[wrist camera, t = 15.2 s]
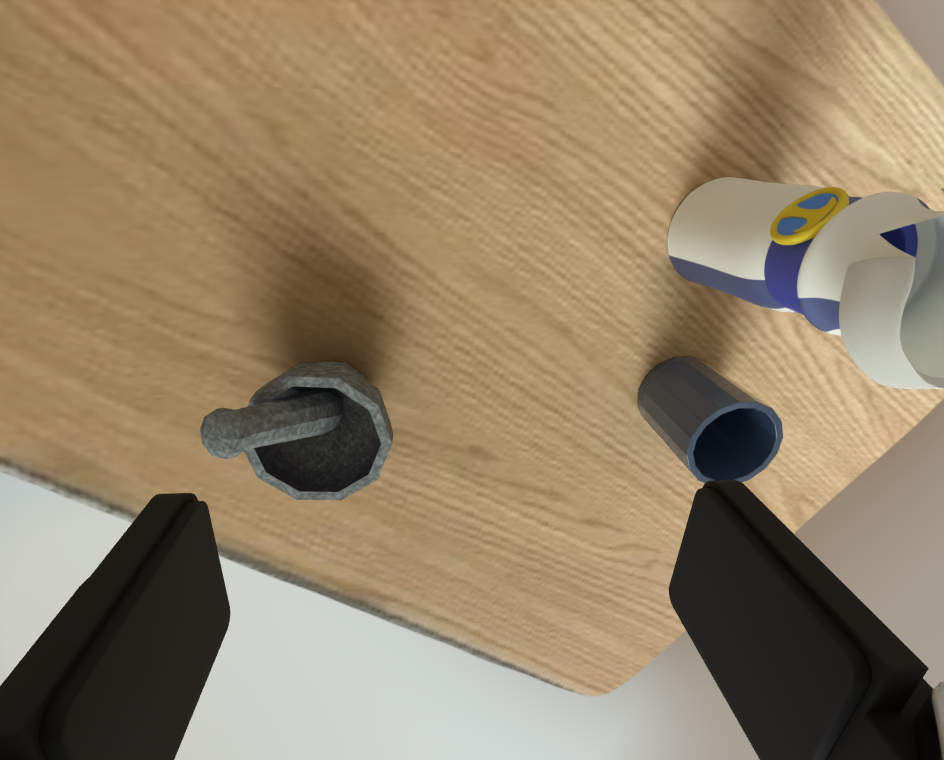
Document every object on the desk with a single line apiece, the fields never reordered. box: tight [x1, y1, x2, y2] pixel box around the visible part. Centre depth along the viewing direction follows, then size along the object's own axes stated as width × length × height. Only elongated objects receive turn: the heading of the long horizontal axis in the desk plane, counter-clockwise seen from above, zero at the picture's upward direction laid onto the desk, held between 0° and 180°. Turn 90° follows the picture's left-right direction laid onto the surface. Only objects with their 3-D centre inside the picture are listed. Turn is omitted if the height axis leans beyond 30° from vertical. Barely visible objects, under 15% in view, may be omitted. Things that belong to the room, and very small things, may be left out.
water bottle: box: [667, 177, 944, 389], centre depth 25 cm, size 8×9×25 cm
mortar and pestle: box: [200, 361, 393, 500], centre depth 33 cm, size 11×9×12 cm
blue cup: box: [638, 356, 783, 483], centre depth 38 cm, size 7×7×8 cm
